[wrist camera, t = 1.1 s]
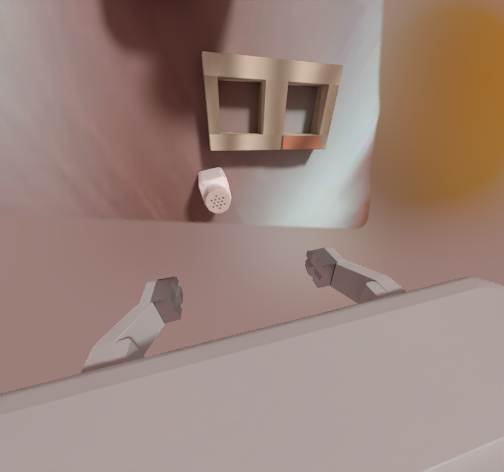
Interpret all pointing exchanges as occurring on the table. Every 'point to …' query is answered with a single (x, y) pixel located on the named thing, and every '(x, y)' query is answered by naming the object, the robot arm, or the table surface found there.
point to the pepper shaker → (214, 189)
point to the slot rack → (270, 100)
